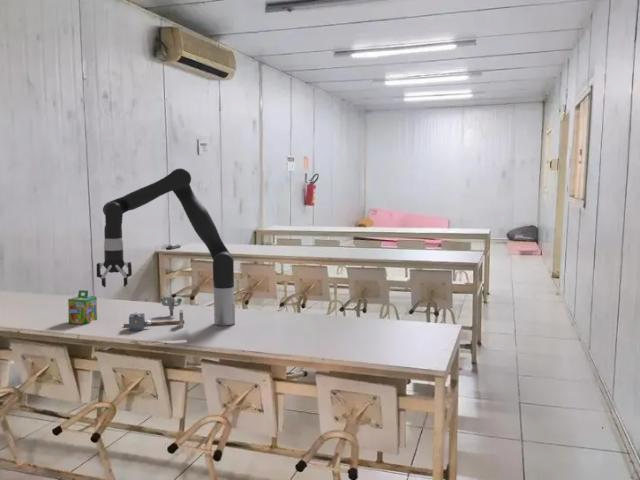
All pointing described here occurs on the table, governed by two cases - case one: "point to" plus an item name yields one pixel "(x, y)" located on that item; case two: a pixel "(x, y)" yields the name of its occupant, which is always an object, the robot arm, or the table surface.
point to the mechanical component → (170, 303)
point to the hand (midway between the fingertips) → (114, 286)
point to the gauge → (137, 321)
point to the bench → (166, 321)
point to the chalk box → (82, 308)
